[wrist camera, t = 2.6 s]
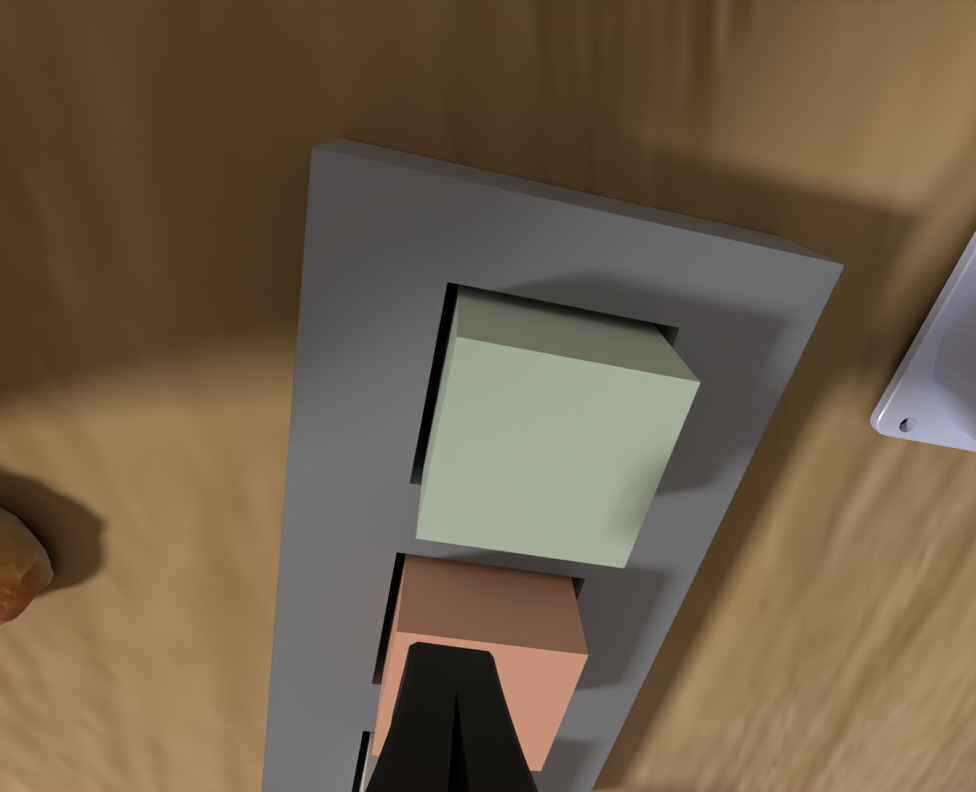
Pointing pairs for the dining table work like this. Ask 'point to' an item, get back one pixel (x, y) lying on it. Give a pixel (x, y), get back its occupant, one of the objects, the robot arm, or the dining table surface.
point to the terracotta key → (492, 638)
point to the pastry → (20, 567)
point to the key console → (401, 442)
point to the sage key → (549, 428)
